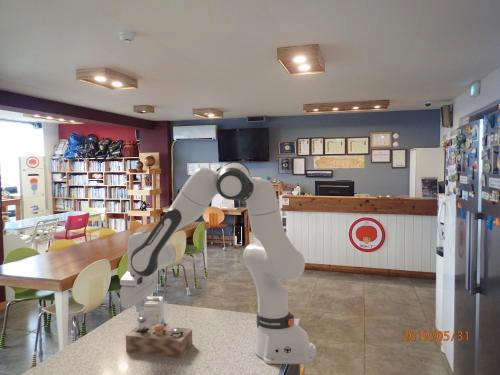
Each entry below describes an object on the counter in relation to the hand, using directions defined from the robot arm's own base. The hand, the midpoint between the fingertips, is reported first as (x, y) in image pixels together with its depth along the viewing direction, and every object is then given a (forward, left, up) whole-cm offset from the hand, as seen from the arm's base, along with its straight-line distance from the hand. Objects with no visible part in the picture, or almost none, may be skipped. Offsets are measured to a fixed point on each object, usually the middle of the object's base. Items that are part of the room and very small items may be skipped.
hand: (140, 310), depth 136 cm
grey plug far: (0, -1, -9) cm, 9 cm away
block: (-7, -1, -14) cm, 16 cm away
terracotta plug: (-7, -1, -12) cm, 14 cm away
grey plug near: (-14, -1, -13) cm, 19 cm away
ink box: (+5, -17, -14) cm, 22 cm away
